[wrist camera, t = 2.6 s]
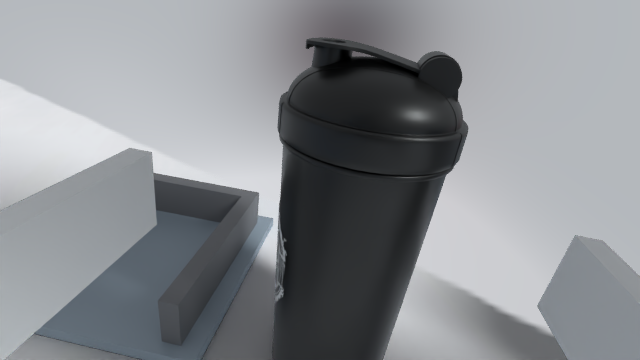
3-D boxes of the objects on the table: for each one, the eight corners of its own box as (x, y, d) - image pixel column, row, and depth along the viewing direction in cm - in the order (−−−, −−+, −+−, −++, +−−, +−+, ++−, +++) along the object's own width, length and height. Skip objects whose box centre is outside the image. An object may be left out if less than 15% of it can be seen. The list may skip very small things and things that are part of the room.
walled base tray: (272, 225, 43) (275, 189, 41) (194, 372, 25) (192, 321, 23) (121, 195, 45) (116, 159, 42) (-54, 312, 27) (-77, 260, 24)
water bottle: (283, 292, 33) (311, 29, 23) (391, 320, 31) (469, 52, 22) (239, 394, 24) (252, 32, 14) (387, 439, 22) (519, 72, 13)
